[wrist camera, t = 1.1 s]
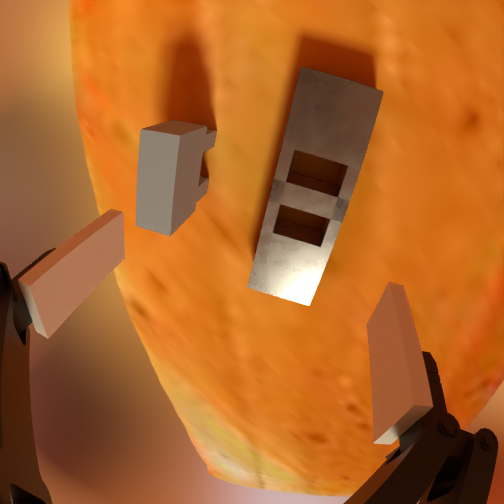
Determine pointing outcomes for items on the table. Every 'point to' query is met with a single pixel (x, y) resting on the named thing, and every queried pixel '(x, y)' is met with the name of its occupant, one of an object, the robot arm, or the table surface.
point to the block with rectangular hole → (313, 182)
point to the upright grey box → (170, 174)
